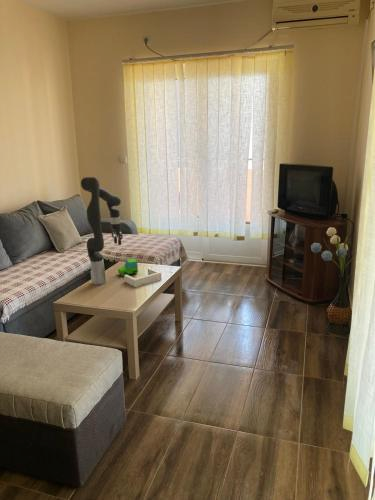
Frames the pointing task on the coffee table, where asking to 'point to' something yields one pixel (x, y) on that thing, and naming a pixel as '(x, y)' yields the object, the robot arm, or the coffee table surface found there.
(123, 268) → the toy car
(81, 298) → the coffee table surface
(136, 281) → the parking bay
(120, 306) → the coffee table surface
